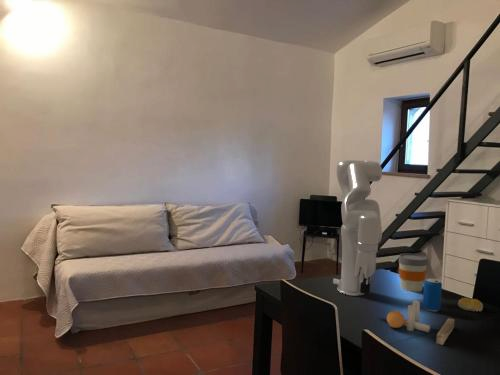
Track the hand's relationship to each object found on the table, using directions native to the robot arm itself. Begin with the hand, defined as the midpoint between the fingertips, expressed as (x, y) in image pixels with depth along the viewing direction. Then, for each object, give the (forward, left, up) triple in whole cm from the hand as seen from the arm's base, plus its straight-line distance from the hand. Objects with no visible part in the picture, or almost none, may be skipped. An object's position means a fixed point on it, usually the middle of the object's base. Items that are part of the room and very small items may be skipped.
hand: (364, 292), depth 167 cm
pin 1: (+19, -4, -8) cm, 21 cm away
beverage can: (+20, +22, -9) cm, 31 cm away
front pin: (+16, -2, -7) cm, 18 cm away
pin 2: (+19, +2, -8) cm, 21 cm away
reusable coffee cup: (+6, +44, -9) cm, 45 cm away
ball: (+14, -5, -5) cm, 16 cm away
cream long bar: (+30, -1, -8) cm, 31 cm away
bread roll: (+32, +34, -9) cm, 48 cm away
